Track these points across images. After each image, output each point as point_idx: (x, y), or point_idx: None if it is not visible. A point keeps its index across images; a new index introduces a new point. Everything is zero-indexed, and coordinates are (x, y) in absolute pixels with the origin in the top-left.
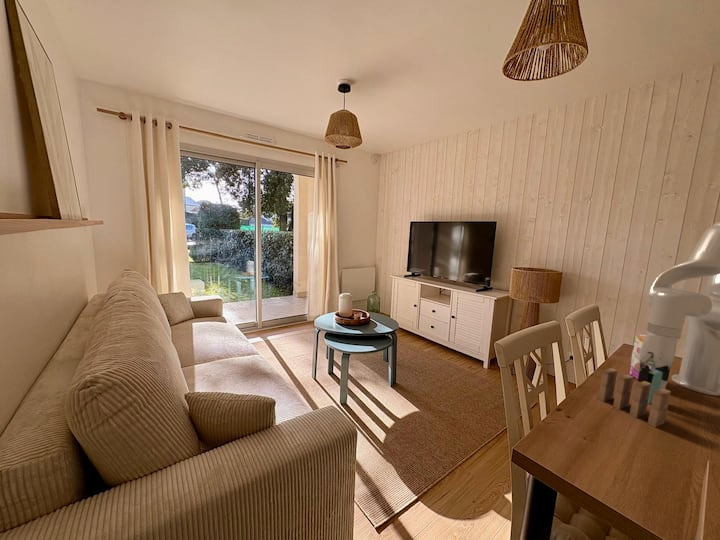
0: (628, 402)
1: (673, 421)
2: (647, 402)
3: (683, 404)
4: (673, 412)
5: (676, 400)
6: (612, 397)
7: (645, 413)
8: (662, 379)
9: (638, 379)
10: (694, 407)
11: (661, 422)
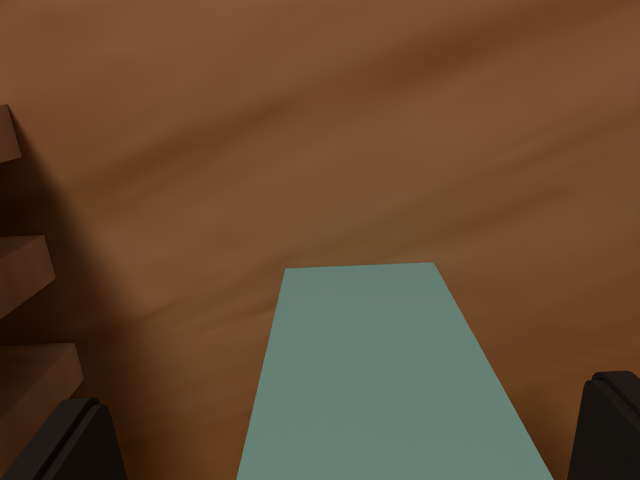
0: (24, 295)
1: (201, 471)
2: (11, 462)
3: (580, 396)
4: None
5: (613, 351)
6: (7, 159)
7: (79, 383)
8: (575, 466)
9: (48, 425)
10: None
11: None
